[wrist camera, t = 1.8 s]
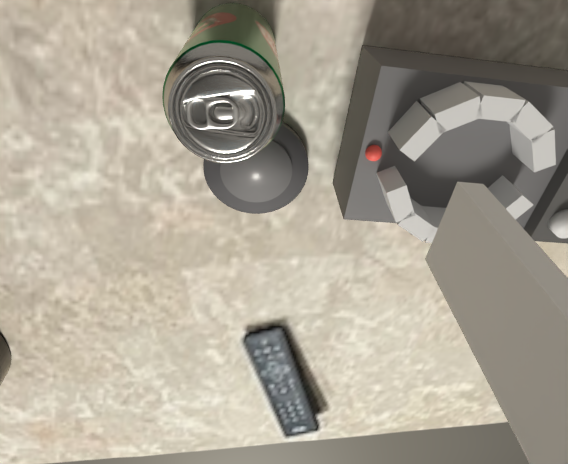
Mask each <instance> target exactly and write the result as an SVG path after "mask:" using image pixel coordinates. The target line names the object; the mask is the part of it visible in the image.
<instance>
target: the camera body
mask: <svg viewBox="0 0 568 464" xmlns="http://www.w3.org/2000/svg"><path fill="white" fill-rule="evenodd" d="M457 182H468V183H478V184H484V185H485V186H486V187H487V188H488V190H489V191H490V192H491V193H492V194H493V195H494V196H495V197H496V199H497V200H498V201H499V202H500V203H501V204H502V205H503V206H504V207H505V209H506V210H507V211H508V212H509V213H510V214H511V215H512V216H513V218H514V219H515V220H516V221H517V222H518V223H519V224H520V225H521V226H522V228H523V229H524V230H525V231H526V232H527V233H528V234H529V235H530V237H531V238H532V239H533V240H534V241H542V242H556V243H568V70H559V69H551V68H543V67H535V66H527V65H519V64H510V63H502V62H494V61H486V60H478V59H470V58H461V57H453V56H445V55H437V54H429V53H421V52H412V51H404V50H396V49H388V48H380V47H372V46H364V45H362V49H361V54H360V59H359V63H358V68H357V73H356V77H355V82H354V87H353V91H352V96H351V101H350V105H349V110H348V114H347V119H346V124H345V128H344V133H343V138H342V142H341V147H340V152H339V156H338V161H337V166H336V170H335V175H334V180H333V186H334V189H335V192H336V195H337V199H338V202H339V205H340V209H341V212H342V215H343V218H344V219H348V220H362V221H375V222H389V223H397V224H398V225H399V226H400V227H402V228H403V229H405V230H406V231H408V232H409V233H411V234H412V235H414V236H415V237H417V238H418V239H420V240H421V241H422V242H423V241H425V243H432V242H433V239H434V237H435V234H436V232H437V229H438V227H439V225H440V222H441V220H442V217H443V215H444V213H445V210H446V208H447V205H448V203H449V200H450V198H451V196H452V193H453V191H454V188H455V186H456V184H457Z"/></svg>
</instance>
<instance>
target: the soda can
mask: <svg viewBox="0 0 568 464" xmlns="http://www.w3.org/2000/svg"><path fill="white" fill-rule="evenodd" d="M163 107H164V111H165V115H166V118H167V120H168V123H169V125H170V126H171V128H172V130H173V131H174V133H175V134H176V136H177V138H178V139H179V140H180V142H181V143H182V144H183V145H184V146H185V147H186V148H187V149H188V150H189V151H191V152H192V153H194V154H195V155H197V156H199V157H201V158H203V159H205V160H208V161H212V162H216V163H235V162H240V161H243V160H246V159H248V158H250V157H252V156H254V155H255V154H257V153H258V152H259V151H261V150H262V149H263V148H265V147H266V146H267V145H268V144H269V143H270V142H271V141H272V140H273V139H274V137H275V136H276V134H277V132H278V131H279V128H280V126H281V124H282V121H283V117H284V111H285V96H284V90H283V84H282V78H281V73H280V67H279V61H278V55H277V49H276V44H275V39H274V35H273V32H272V30H271V28H270V26H269V24H268V23H267V21H266V20H265V19H264V17H263V16H262V15H260V14H259V13H258V12H257V11H255V10H254V9H252V8H250V7H248V6H246V5H243V4H238V3H226V4H222V5H219V6H216V7H214V8H213V9H211V10H210V11H208V12H207V13H206V14H205V15H204V16H203V17H202V19H201V20H200V22H199V23H198V25H197V26H196V28H195V29H194V31H193V32H192V34H191V36H190V37H189V39H188V40H187V42H186V43H185V45H184V47H183V48H182V50H181V51H180V53H179V54H178V56H177V58H176V59H175V61H174V62H173V64H172V65H171V67H170V69H169V71H168V73H167V75H166V78H165V82H164V86H163Z"/></svg>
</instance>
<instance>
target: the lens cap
mask: <svg viewBox="0 0 568 464" xmlns="http://www.w3.org/2000/svg"><path fill="white" fill-rule="evenodd" d="M204 174H205V179H206V181H207V184H208V186H209V188H210V189H211V191H212V192H213V194H214V195H215V196H216V197H217V198H218V199H219V200H220V201H221V202H223V203H224V204H226V205H227V206H229V207H231V208H233V209H235V210H238V211H241V212H246V213H257V214H259V213H267V212H272V211H275V210H278V209H280V208H282V207H284V206H286V205H287V204H289V203H290V202H291V201H293V200H294V199H295V198H296V197H297V196H298V194H299V193H300V192H301V190H302V188H303V187H304V185H305V182H306V179H307V175H308V159H307V154H306V150H305V147H304V145H303V143H302V141H301V139H300V137H299V136H298V135H297V133H296V132H295V131H294V130H293V129H292V128H290V127H289V126H288V125H287V124H285V123H283V122H282V124H281V126H280V128H279V131H278V132H277V134H276V136H275V137H274V139H273V140H272V141H271V142H270V143H269V144H268V145H267V146H266V147H265V148H263V149H262V150H261V151H259V152H258V153H257V154H255V155H254V156H252V157H250V158H248V159H246V160H243V161H240V162H235V163H216V162H212V161H208V160H205V159H204Z"/></svg>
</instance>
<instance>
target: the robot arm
mask: <svg viewBox="0 0 568 464" xmlns="http://www.w3.org/2000/svg"><path fill="white" fill-rule="evenodd" d="M425 260H426V262H427V264H428V266H429V268H430V270H431V272H432V274H433V275H434V277H435V279H436V281H437V283H438V285H439V287H440V289H441V291H442V293H443V295H444V297H445V299H446V301H447V303H448V305H449V307H450V309H451V311H452V313H453V315H454V317H455V319H456V320H457V322H458V324H459V326H460V328H461V330H462V332H463V334H464V336H465V338H466V340H467V342H468V344H469V346H470V348H471V350H472V352H473V354H474V356H475V358H476V360H477V362H478V363H479V365H480V367H481V369H482V371H483V373H484V375H485V377H486V379H487V381H488V383H489V385H490V387H491V389H492V391H493V393H494V395H495V397H496V399H497V401H498V403H499V405H500V407H501V408H502V410H503V412H504V414H505V416H506V418H507V420H508V422H509V424H510V426H511V428H512V430H513V432H514V434H515V436H516V438H517V439H518V442H519V444H520V446H521V448H522V450H523V451H524V453H525V455H526V457H527V459H528V461H529V463H530V464H568V278H567V277H566V276H565V275H564V273H563V272H562V271H561V270H560V269H559V268H558V267H557V266H556V264H555V263H554V262H553V261H552V260H551V259H550V258H549V257H548V256H547V254H546V253H545V252H544V251H543V250H542V249H541V248H540V247H539V245H538V244H537V243H536V242H535V241H534V240H533V239H532V238H531V237H530V235H529V234H528V233H527V232H526V231H525V230H524V229H523V228H522V226H521V225H520V224H519V223H518V222H517V221H516V220H515V219H514V218H513V216H512V215H511V214H510V213H509V212H508V211H507V210H506V209H505V207H504V206H503V205H502V204H501V203H500V202H499V201H498V200H497V199H496V197H495V196H494V195H493V194H492V193H491V192H490V191H489V190H488V188H487V187H486V186H485V185H484V184H478V183H468V182H457V184H456V186H455V188H454V191H453V193H452V196H451V198H450V200H449V203H448V205H447V208H446V210H445V213H444V215H443V217H442V220H441V222H440V225H439V227H438V229H437V232H436V234H435V237H434V239H433V242H432V244H431V246H430V249H429V251H428V254H427V256H426V258H425ZM10 365H11V354H10V351H9V348H8V346H7V344H6V342H5V340H4V339H3V338H2V336H1V335H0V385H1V383H2V381H3V380H4V378H5V376H6V374H7V373H8V371H9V368H10Z"/></svg>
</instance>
